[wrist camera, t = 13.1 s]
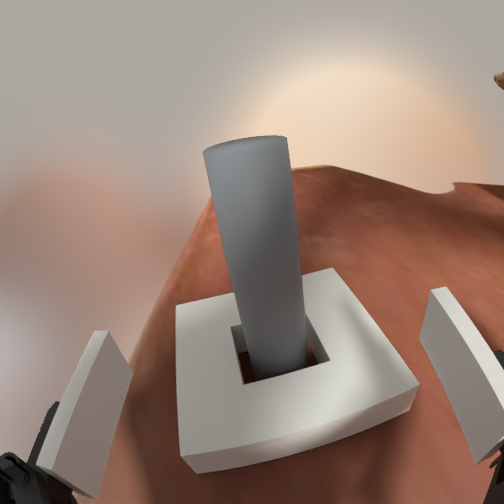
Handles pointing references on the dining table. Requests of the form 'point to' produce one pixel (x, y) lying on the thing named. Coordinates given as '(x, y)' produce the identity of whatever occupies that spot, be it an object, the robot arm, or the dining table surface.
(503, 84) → the dog model
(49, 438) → the robot arm
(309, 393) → the block
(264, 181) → the tall dowel
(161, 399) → the dining table surface
